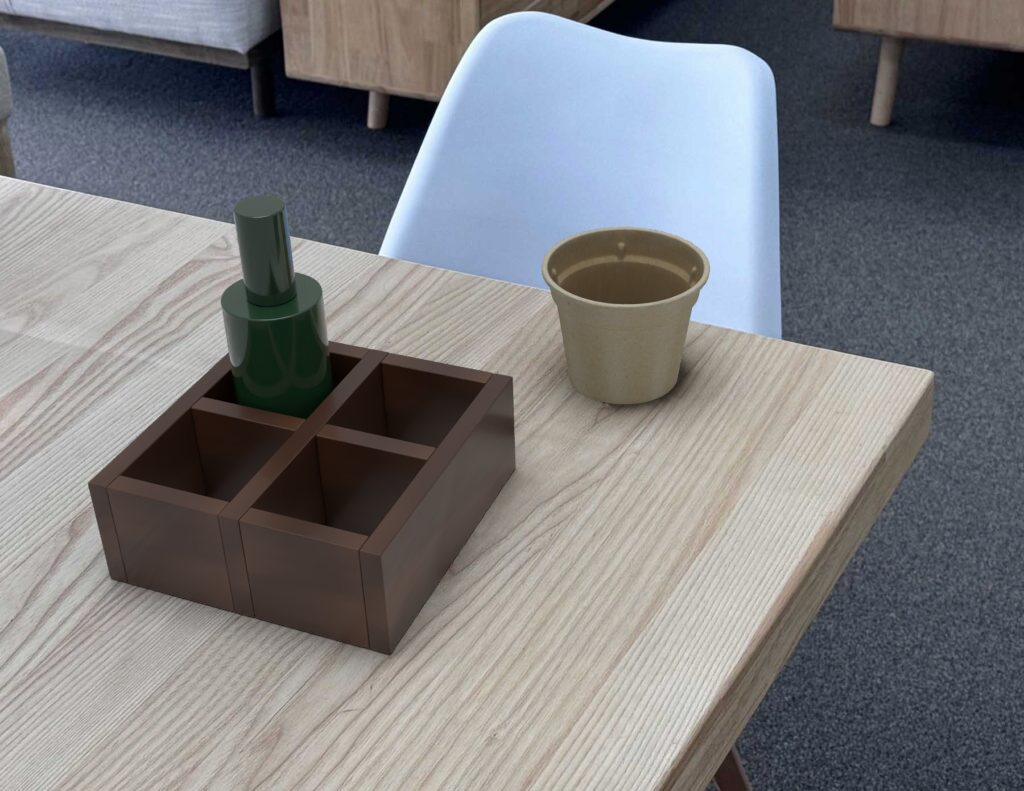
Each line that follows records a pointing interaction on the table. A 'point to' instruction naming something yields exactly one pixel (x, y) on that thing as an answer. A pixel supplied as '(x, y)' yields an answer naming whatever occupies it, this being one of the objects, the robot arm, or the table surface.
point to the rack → (312, 494)
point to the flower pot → (624, 308)
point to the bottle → (274, 318)
